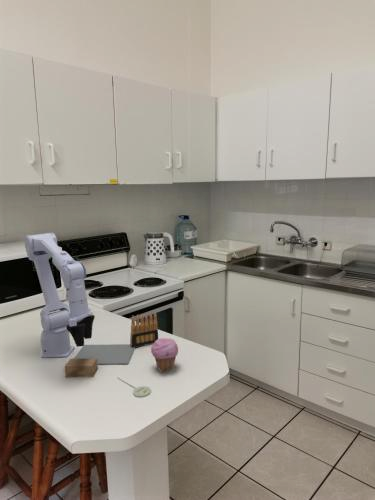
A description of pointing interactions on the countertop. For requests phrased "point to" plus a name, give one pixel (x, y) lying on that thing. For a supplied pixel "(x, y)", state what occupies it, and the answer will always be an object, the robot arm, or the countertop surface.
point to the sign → (140, 390)
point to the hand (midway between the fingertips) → (84, 342)
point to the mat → (107, 353)
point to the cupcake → (164, 353)
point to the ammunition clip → (143, 331)
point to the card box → (81, 368)
